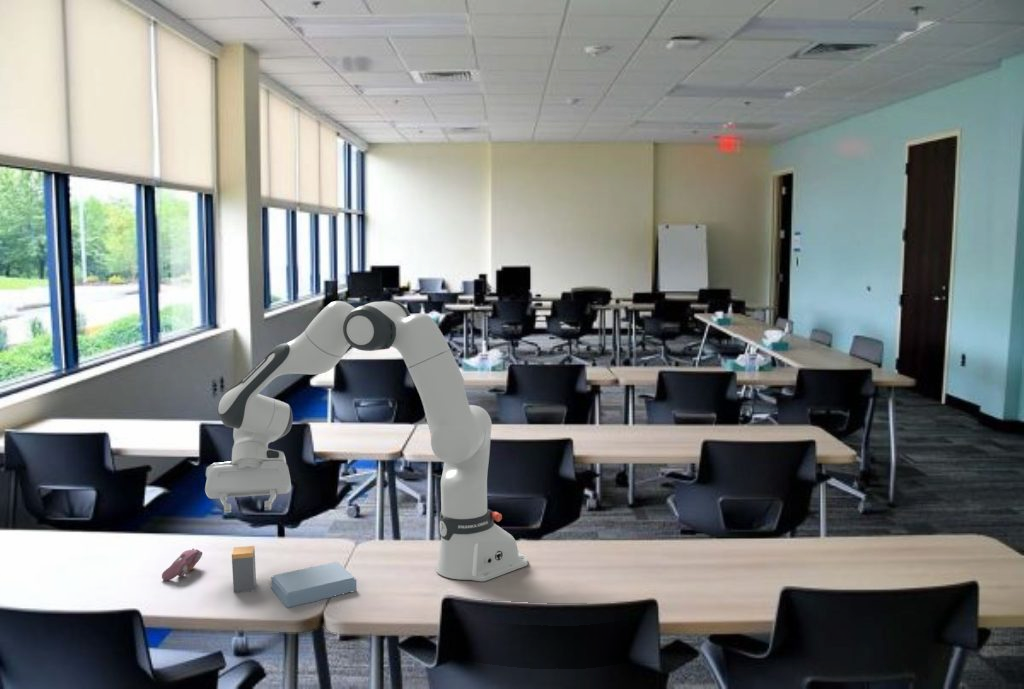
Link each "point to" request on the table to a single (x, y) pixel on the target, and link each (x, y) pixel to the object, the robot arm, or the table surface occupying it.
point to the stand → (312, 584)
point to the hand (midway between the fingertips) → (247, 510)
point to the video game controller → (182, 564)
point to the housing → (244, 569)
